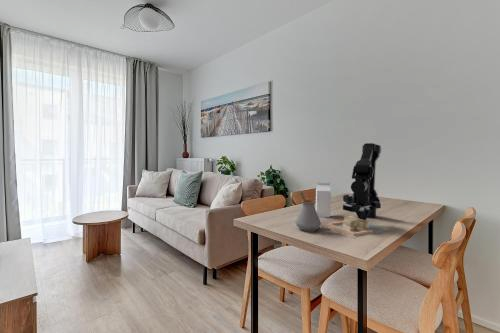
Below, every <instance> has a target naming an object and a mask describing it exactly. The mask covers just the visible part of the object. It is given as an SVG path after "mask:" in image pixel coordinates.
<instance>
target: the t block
mask: <svg viewBox="0 0 500 333" xmlns="http://www.w3.org/2000/svg"><path fill="white" fill-rule="evenodd" d="M342 221H343V228H344V229H346V230H349V231H351V230H359V231H366V230H368V227H369V224H370V221H368V220H367V219H366V220H362V219H359V218H358V217H354V216H351V215H349V216H348V215H347V216H343V220H342Z"/></svg>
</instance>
